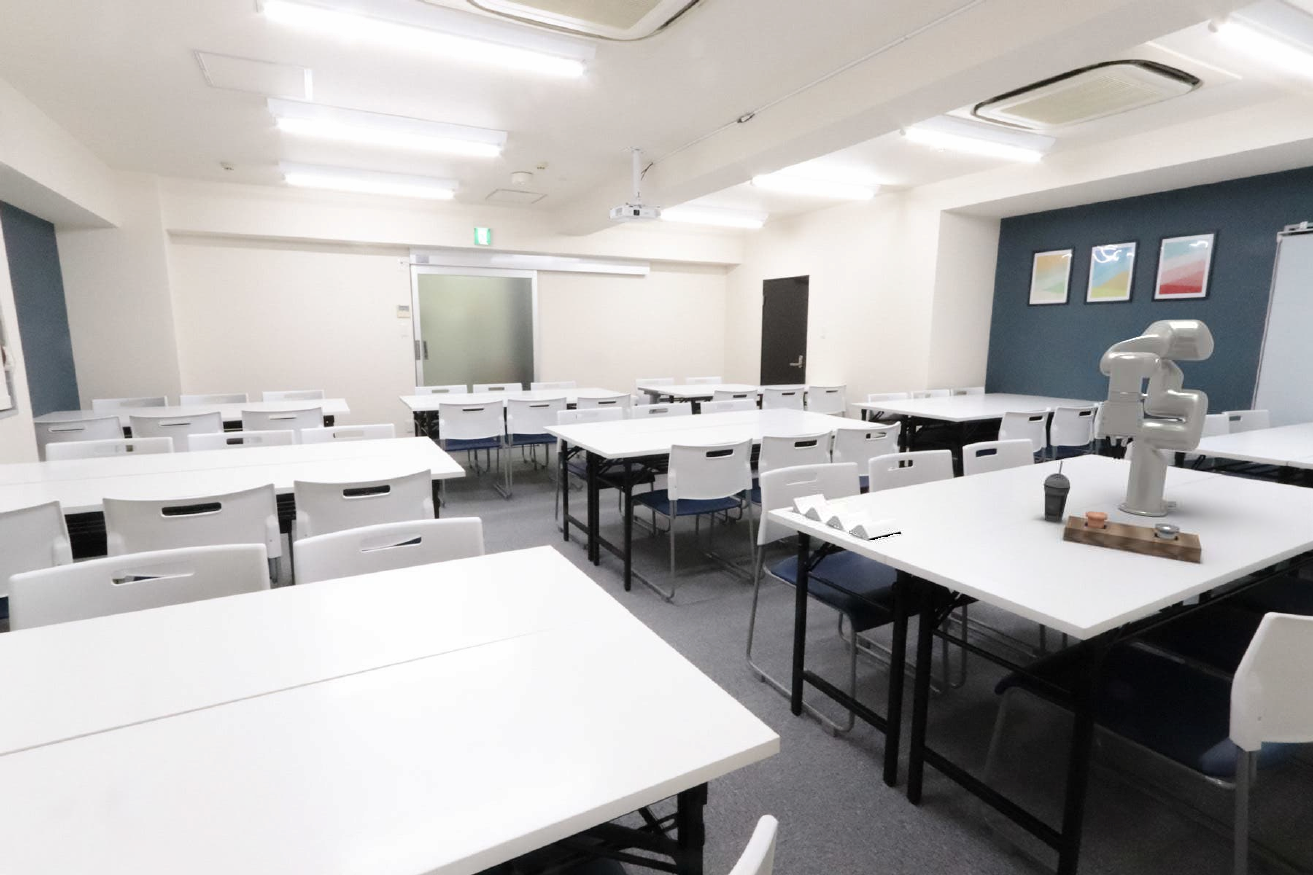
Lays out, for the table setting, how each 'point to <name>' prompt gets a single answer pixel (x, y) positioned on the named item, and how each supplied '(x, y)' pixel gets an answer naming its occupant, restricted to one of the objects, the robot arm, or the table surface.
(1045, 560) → the table surface
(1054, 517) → the beverage cup
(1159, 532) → the grey plunger
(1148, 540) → the button board
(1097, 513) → the terracotta plunger
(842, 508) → the file organizer
